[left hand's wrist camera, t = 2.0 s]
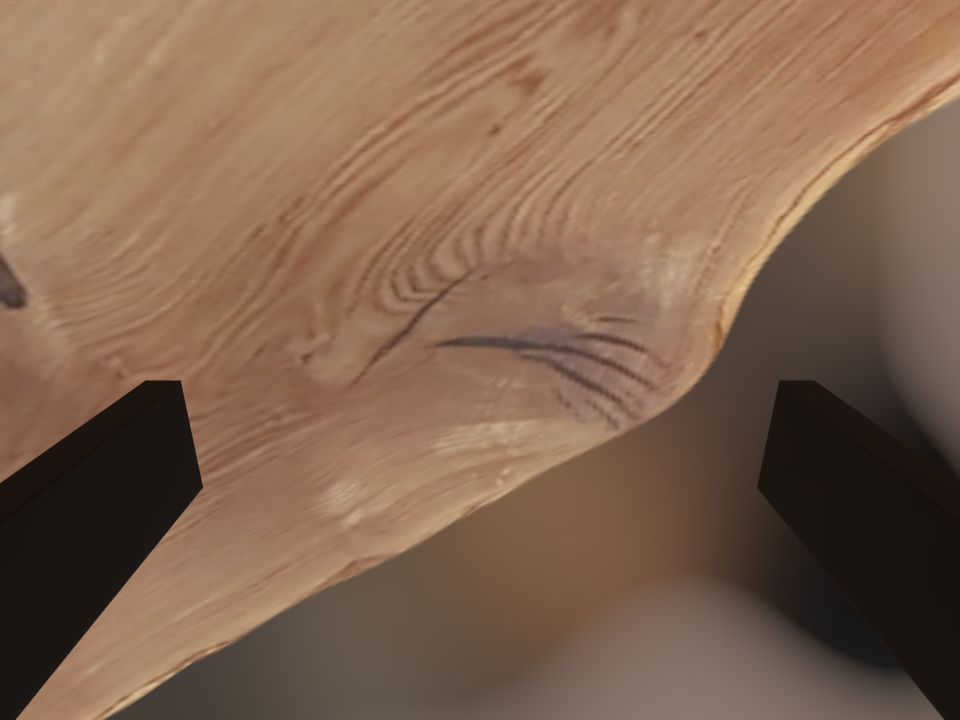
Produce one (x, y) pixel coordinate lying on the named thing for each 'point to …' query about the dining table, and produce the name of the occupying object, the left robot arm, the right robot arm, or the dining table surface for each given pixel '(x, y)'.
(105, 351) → the dining table surface
